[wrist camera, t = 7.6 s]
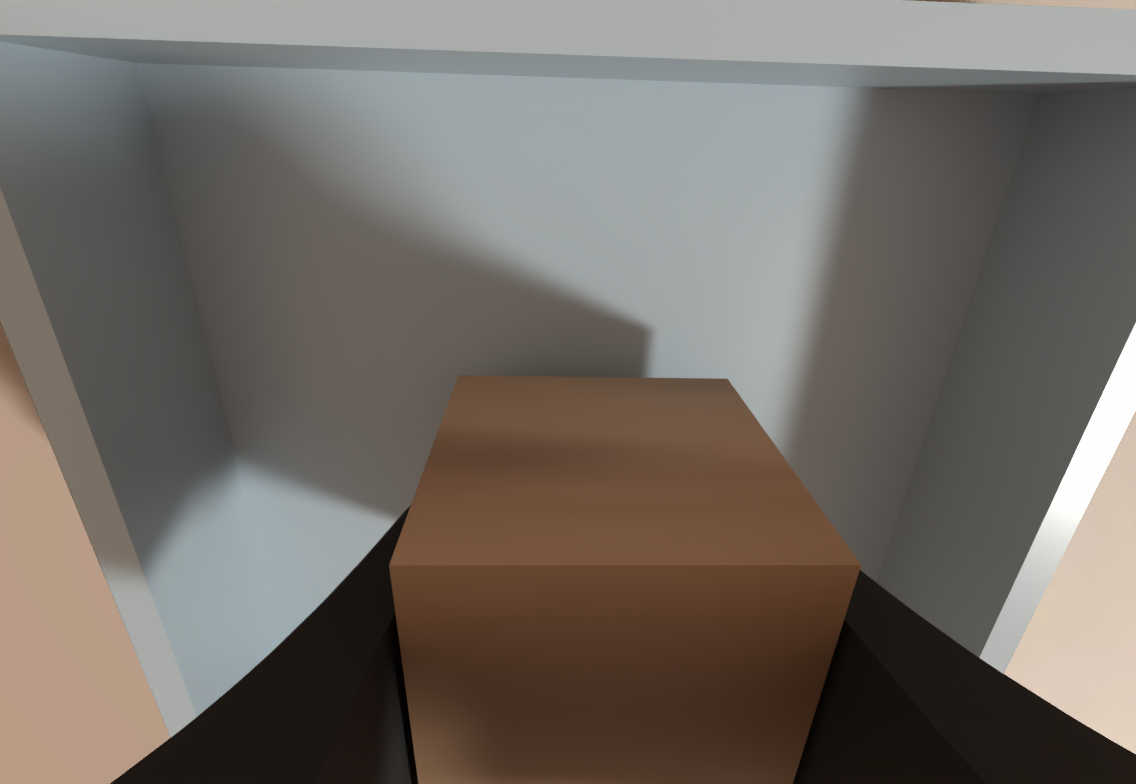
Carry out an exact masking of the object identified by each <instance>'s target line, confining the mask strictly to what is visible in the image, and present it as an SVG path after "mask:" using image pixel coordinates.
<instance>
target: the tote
mask: <svg viewBox="0 0 1136 784" xmlns="http://www.w3.org/2000/svg"><path fill="white" fill-rule="evenodd" d="M0 322H1V324H2V327H3V329H4V332H5V334H6V337H7V339H8V342H9V344H10V346H11V349H12V351H13V354H14V356H15V359H16V361H17V364H18V366H19V368H20V371H21V373H22V376H23V378H24V381H25V383H26V386H27V388H28V390H29V393H30V395H31V398H32V400H33V403H34V405H35V408H36V410H37V412H38V415H39V417H40V420H41V422H42V425H43V427H44V430H45V432H46V434H47V437H48V439H49V442H50V444H51V447H52V449H53V452H54V454H55V456H56V459H57V461H58V464H59V466H60V469H61V471H62V473H63V476H64V478H65V481H66V483H67V486H68V488H69V491H70V493H71V496H72V498H73V500H74V503H75V505H76V508H77V510H78V513H79V515H80V518H81V520H82V522H83V525H84V527H85V530H86V532H87V535H88V537H89V540H90V542H91V544H92V547H93V549H94V551H95V554H96V556H97V559H98V562H99V564H100V566H101V569H102V571H103V574H104V576H105V578H106V581H107V584H108V586H109V588H110V591H111V593H112V596H113V598H114V600H115V603H116V605H117V608H118V610H119V613H120V615H121V618H122V620H123V622H124V625H125V627H126V630H127V632H128V635H129V637H130V639H131V642H132V645H133V647H134V649H135V652H136V654H137V657H138V659H139V662H140V664H141V667H142V669H143V671H144V674H145V676H146V679H147V681H148V684H149V686H150V688H151V691H152V693H153V696H154V698H155V701H156V703H157V706H158V708H159V711H160V713H161V715H162V718H163V720H164V723H165V725H166V728H167V730H168V732H169V735H170V737H172V736H174V735H175V734H176V733H177V732H179V731H180V730H181V729H182V728H184V727H185V726H186V725H188V724H189V723H190V722H191V721H192V720H194V719H195V718H196V717H197V716H199V715H200V714H201V713H202V712H203V711H204V710H206V709H207V708H208V707H209V706H210V705H212V704H213V703H214V702H215V701H216V700H218V699H219V698H220V697H221V696H222V695H223V694H225V693H226V692H227V691H228V690H229V689H231V688H232V687H233V686H234V685H235V684H236V683H237V682H239V681H240V680H241V679H242V678H243V677H244V676H245V675H246V674H248V673H249V672H250V671H251V670H252V669H253V668H254V667H255V666H256V665H258V664H259V663H260V662H261V661H262V660H263V659H264V658H265V657H266V656H267V655H269V654H270V653H271V652H272V651H273V650H274V649H275V648H276V647H277V646H278V645H279V644H280V643H281V642H282V641H283V640H284V639H285V638H286V637H287V636H288V635H289V634H290V633H291V632H292V631H293V630H294V629H296V628H297V627H298V626H299V625H300V624H301V623H302V622H303V621H304V620H305V619H306V618H307V617H308V616H309V615H310V614H311V613H312V612H313V611H314V610H315V609H316V608H317V607H318V606H319V605H320V604H321V603H322V602H323V601H324V600H325V599H326V598H327V597H328V596H329V595H330V594H331V593H332V591H333V590H334V589H335V588H336V587H337V586H338V585H339V584H340V583H341V582H342V581H343V580H344V579H345V578H346V577H347V575H348V574H349V573H350V572H351V571H352V570H353V569H354V568H355V567H356V566H357V565H358V564H359V563H360V561H361V560H362V559H363V558H364V557H365V556H366V555H367V554H368V552H369V551H370V550H371V549H372V548H373V547H374V546H375V545H376V543H377V542H378V541H379V540H380V539H381V538H382V537H383V535H384V534H385V533H386V532H387V531H388V530H389V528H390V527H391V526H392V525H393V524H394V523H395V521H396V520H397V519H398V518H399V517H400V516H401V514H402V513H403V512H404V511H405V510H406V509H407V508H408V507H409V506H410V505H411V504H412V501H413V498H414V495H415V493H416V490H417V487H418V484H419V482H420V479H421V476H422V473H423V471H424V468H425V465H426V462H427V460H428V457H429V454H430V451H431V449H432V446H433V443H434V440H435V438H436V435H437V432H438V429H439V427H440V424H441V421H442V418H443V416H444V413H445V410H446V407H447V405H448V402H449V399H450V396H451V394H452V391H453V388H454V385H455V383H456V380H457V377H458V375H475V376H555V377H636V378H716V379H728V380H729V381H730V383H731V384H732V386H733V387H734V388H735V390H736V391H737V393H738V394H739V395H740V397H741V398H742V400H743V401H744V402H745V404H746V405H747V407H748V408H749V409H750V411H751V412H752V413H753V415H754V416H755V418H756V419H757V420H758V422H759V423H760V425H761V426H762V427H763V429H764V430H765V432H766V433H767V434H768V436H769V437H770V439H771V440H772V441H773V443H774V444H775V446H776V447H777V448H778V450H779V451H780V452H781V454H782V455H783V457H784V458H785V459H786V461H787V462H788V464H789V465H790V466H791V468H792V469H793V471H794V472H795V473H796V475H797V476H798V478H799V479H800V480H801V482H802V483H803V485H804V486H805V487H806V489H807V490H808V491H809V493H810V494H811V496H812V497H813V498H814V500H815V501H816V503H817V504H818V505H819V507H820V508H821V510H822V511H823V512H824V514H825V515H826V517H827V518H828V519H829V521H830V522H831V524H832V525H833V526H834V528H835V529H836V530H837V532H838V533H839V535H840V536H841V537H842V539H843V540H844V542H845V543H846V544H847V546H848V547H849V549H850V550H851V551H852V553H853V554H854V556H855V557H856V558H857V560H858V561H859V563H860V564H861V567H860V570H861V571H862V572H864V573H865V574H866V575H867V576H869V577H870V578H871V579H872V580H874V581H875V582H876V583H878V584H879V585H880V586H881V587H883V588H884V589H885V590H887V591H888V592H889V593H890V594H892V595H893V596H894V597H896V598H897V599H898V600H900V601H901V602H902V603H904V604H905V605H906V606H908V607H909V608H910V609H912V610H913V611H914V612H916V613H917V614H918V615H920V616H921V617H922V618H924V619H925V620H927V621H928V622H929V623H931V624H932V625H934V626H935V627H936V628H938V629H939V630H941V631H942V632H943V633H945V634H946V635H948V636H949V637H950V638H952V639H953V640H955V641H956V642H957V643H959V644H960V645H962V646H963V647H964V648H966V649H967V650H969V651H970V652H972V653H973V654H974V655H976V656H977V657H979V658H980V659H982V660H983V661H985V662H986V663H988V664H989V665H991V666H992V667H994V668H995V669H997V670H998V671H1000V672H1001V673H1003V674H1004V672H1005V670H1006V668H1007V666H1008V664H1009V662H1010V660H1011V658H1012V656H1013V654H1014V652H1015V650H1016V648H1017V646H1018V644H1019V642H1020V640H1021V638H1022V636H1023V634H1024V632H1025V630H1026V628H1027V626H1028V624H1029V622H1030V620H1031V618H1032V616H1033V614H1034V612H1035V610H1036V608H1037V606H1038V604H1039V602H1040V600H1041V598H1042V596H1043V594H1044V592H1045V590H1046V588H1047V586H1048V584H1049V582H1050V580H1051V578H1052V576H1053V574H1054V572H1055V570H1056V568H1057V566H1058V564H1059V562H1060V560H1061V558H1062V556H1063V554H1064V552H1065V550H1066V548H1067V546H1068V544H1069V542H1070V540H1071V538H1072V536H1073V534H1074V532H1075V530H1076V528H1077V526H1078V524H1079V522H1080V520H1081V518H1082V516H1083V514H1084V512H1085V510H1086V508H1087V506H1088V504H1089V502H1090V500H1091V498H1092V496H1093V494H1094V492H1095V490H1096V488H1097V486H1098V484H1099V482H1100V480H1101V478H1102V476H1103V474H1104V472H1105V470H1106V468H1107V466H1108V464H1109V462H1110V460H1111V458H1112V456H1113V454H1114V452H1115V450H1116V448H1117V446H1118V444H1119V442H1120V440H1121V438H1122V436H1123V434H1124V432H1125V430H1126V428H1127V426H1128V424H1129V422H1130V420H1131V418H1132V416H1133V414H1134V412H1135V410H1136V10H1132V9H1108V8H1083V7H1059V6H1034V5H1009V4H985V3H960V2H935V1H911V0H0Z"/></svg>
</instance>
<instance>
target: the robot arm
mask: <svg viewBox="0 0 1136 784" xmlns="http://www.w3.org/2000/svg"><path fill="white" fill-rule="evenodd" d="M410 506H411V505H410ZM410 506H409V507H408V508H407V509H406V510H405V511H404V512H403V513H402V514H401V516H400V517H399V518H398V519H397V520H396V521H395V523H394V524H393V525H392V526H391V527H390V528H389V530H388V531H387V532H386V533H385V534H384V535H383V537H382V538H381V539H380V540H379V541H378V542H377V543H376V545H375V546H374V547H373V548H372V549H371V550H370V551H369V552H368V554H367V555H366V556H365V557H364V558H363V559H362V560H361V561H360V563H359V564H358V565H357V566H356V567H355V568H354V569H353V570H352V571H351V572H350V573H349V574H348V575H347V577H346V578H345V579H344V580H343V581H342V582H341V583H340V584H339V585H338V586H337V587H336V588H335V589H334V590H333V591H332V593H331V594H330V595H329V596H328V597H327V598H326V599H325V600H324V601H323V602H322V603H321V604H320V605H319V606H318V607H317V608H316V609H315V610H314V611H313V612H312V613H311V614H310V615H309V616H308V617H307V618H306V619H305V620H304V621H303V622H302V623H301V624H300V625H299V626H298V627H297V628H296V629H294V630H293V631H292V632H291V633H290V634H289V635H288V636H287V637H286V638H285V639H284V640H283V641H282V642H281V643H280V644H279V645H278V646H277V647H276V648H275V649H274V650H273V651H272V652H271V653H270V654H269V655H267V656H266V657H265V658H264V659H263V660H262V661H261V662H260V663H259V664H258V665H256V666H255V667H254V668H253V669H252V670H251V671H250V672H249V673H248V674H246V675H245V676H244V677H243V678H242V679H241V680H240V681H239V682H237V683H236V684H235V685H234V686H233V687H232V688H231V689H229V690H228V691H227V692H226V693H225V694H223V695H222V696H221V697H220V698H219V699H218V700H216V701H215V702H214V703H213V704H212V705H210V706H209V707H208V708H207V709H206V710H204V711H203V712H202V713H201V714H200V715H199V716H197V717H196V718H195V719H194V720H192V721H191V722H190V723H189V724H188V725H186V726H185V727H184V728H182V729H181V730H180V731H179V732H177V733H176V734H175V735H174V736H172V737H171V738H170V739H168V740H167V741H166V742H165V743H163V744H162V745H161V746H159V747H158V748H157V749H155V750H154V751H153V752H151V753H150V754H149V755H148V756H146V757H145V758H144V759H142V760H141V761H140V762H138V763H137V764H136V765H134V766H133V767H132V768H130V769H129V770H128V771H126V772H125V773H124V774H122V775H121V776H120V777H118V778H117V779H116V780H114V781H113V782H112V783H111V784H418V777H417V770H416V762H415V755H414V747H413V740H412V732H411V725H410V718H409V710H408V703H407V695H406V688H405V680H404V673H403V666H402V658H401V651H400V643H399V636H398V628H397V621H396V614H395V606H394V599H393V591H392V584H391V577H390V569H389V564H390V561H391V559H392V556H393V553H394V550H395V548H396V545H397V542H398V539H399V537H400V534H401V531H402V528H403V526H404V523H405V520H406V517H407V515H408V512H409V509H410ZM793 784H1136V754H1134V753H1132V752H1130V751H1129V750H1127V749H1125V748H1123V747H1122V746H1120V745H1118V744H1116V743H1114V742H1113V741H1111V740H1109V739H1108V738H1106V737H1104V736H1103V735H1101V734H1099V733H1098V732H1096V731H1094V730H1093V729H1091V728H1089V727H1087V726H1086V725H1084V724H1082V723H1081V722H1079V721H1077V720H1076V719H1074V718H1072V717H1071V716H1069V715H1067V714H1066V713H1064V712H1063V711H1061V710H1060V709H1058V708H1056V707H1055V706H1053V705H1052V704H1050V703H1048V702H1047V701H1045V700H1044V699H1042V698H1041V697H1039V696H1037V695H1036V694H1034V693H1033V692H1031V691H1030V690H1028V689H1026V688H1025V687H1023V686H1022V685H1020V684H1018V683H1017V682H1015V681H1014V680H1012V679H1011V678H1009V677H1007V676H1006V675H1004V674H1003V673H1001V672H1000V671H998V670H997V669H995V668H994V667H992V666H991V665H989V664H988V663H986V662H985V661H983V660H982V659H980V658H979V657H977V656H976V655H974V654H973V653H972V652H970V651H969V650H967V649H966V648H964V647H963V646H962V645H960V644H959V643H957V642H956V641H955V640H953V639H952V638H950V637H949V636H948V635H946V634H945V633H943V632H942V631H941V630H939V629H938V628H936V627H935V626H934V625H932V624H931V623H929V622H928V621H927V620H925V619H924V618H922V617H921V616H920V615H918V614H917V613H916V612H914V611H913V610H912V609H910V608H909V607H908V606H906V605H905V604H904V603H902V602H901V601H900V600H898V599H897V598H896V597H894V596H893V595H892V594H890V593H889V592H888V591H887V590H885V589H884V588H883V587H881V586H880V585H879V584H878V583H876V582H875V581H874V580H872V579H871V578H870V577H869V576H867V575H866V574H865V573H864V572H862V571H861V570H860V571H859V574H858V577H857V580H856V583H855V587H854V590H853V593H852V596H851V599H850V603H849V606H848V609H847V612H846V615H845V618H844V622H843V625H842V628H841V631H840V634H839V638H838V641H837V644H836V647H835V650H834V654H833V657H832V660H831V663H830V666H829V670H828V673H827V676H826V679H825V682H824V686H823V689H822V692H821V695H820V698H819V702H818V705H817V708H816V711H815V714H814V717H813V721H812V724H811V727H810V730H809V733H808V737H807V740H806V743H805V746H804V749H803V753H802V756H801V759H800V762H799V765H798V769H797V772H796V775H795V778H794V781H793Z"/></svg>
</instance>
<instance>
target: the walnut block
mask: <svg viewBox="0 0 1136 784" xmlns="http://www.w3.org/2000/svg"><path fill="white" fill-rule="evenodd" d="M860 567H861V564H860V563H859V561H858V560H857V558H856V557H855V556H854V554H853V553H852V551H851V550H850V549H849V547H848V546H847V544H846V543H845V542H844V540H843V539H842V537H841V536H840V535H839V533H838V532H837V530H836V529H835V528H834V526H833V525H832V524H831V522H830V521H829V519H828V518H827V517H826V515H825V514H824V512H823V511H822V510H821V508H820V507H819V505H818V504H817V503H816V501H815V500H814V498H813V497H812V496H811V494H810V493H809V491H808V490H807V489H806V487H805V486H804V485H803V483H802V482H801V480H800V479H799V478H798V476H797V475H796V473H795V472H794V471H793V469H792V468H791V466H790V465H789V464H788V462H787V461H786V459H785V458H784V457H783V455H782V454H781V452H780V451H779V450H778V448H777V447H776V446H775V444H774V443H773V441H772V440H771V439H770V437H769V436H768V434H767V433H766V432H765V430H764V429H763V427H762V426H761V425H760V423H759V422H758V420H757V419H756V418H755V416H754V415H753V413H752V412H751V411H750V409H749V408H748V407H747V405H746V404H745V402H744V401H743V400H742V398H741V397H740V395H739V394H738V393H737V391H736V390H735V388H734V387H733V386H732V384H731V383H730V381H729V380H728V379H716V378H636V377H555V376H475V375H458V377H457V380H456V383H455V385H454V388H453V391H452V394H451V396H450V399H449V402H448V405H447V407H446V410H445V413H444V416H443V418H442V421H441V424H440V427H439V429H438V432H437V435H436V438H435V440H434V443H433V446H432V449H431V451H430V454H429V457H428V460H427V462H426V465H425V468H424V471H423V473H422V476H421V479H420V482H419V484H418V487H417V490H416V493H415V495H414V498H413V501H412V504H411V506H410V509H409V512H408V515H407V517H406V520H405V523H404V526H403V528H402V531H401V534H400V537H399V539H398V542H397V545H396V548H395V550H394V553H393V556H392V559H391V561H390V564H389V569H390V577H391V584H392V591H393V599H394V606H395V614H396V621H397V628H398V636H399V643H400V651H401V658H402V666H403V673H404V680H405V688H406V695H407V703H408V710H409V718H410V725H411V732H412V740H413V747H414V755H415V762H416V770H417V777H418V784H793V781H794V778H795V775H796V772H797V769H798V765H799V762H800V759H801V756H802V753H803V749H804V746H805V743H806V740H807V737H808V733H809V730H810V727H811V724H812V721H813V717H814V714H815V711H816V708H817V705H818V702H819V698H820V695H821V692H822V689H823V686H824V682H825V679H826V676H827V673H828V670H829V666H830V663H831V660H832V657H833V654H834V650H835V647H836V644H837V641H838V638H839V634H840V631H841V628H842V625H843V622H844V618H845V615H846V612H847V609H848V606H849V603H850V599H851V596H852V593H853V590H854V587H855V583H856V580H857V577H858V574H859V571H860Z"/></svg>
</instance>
